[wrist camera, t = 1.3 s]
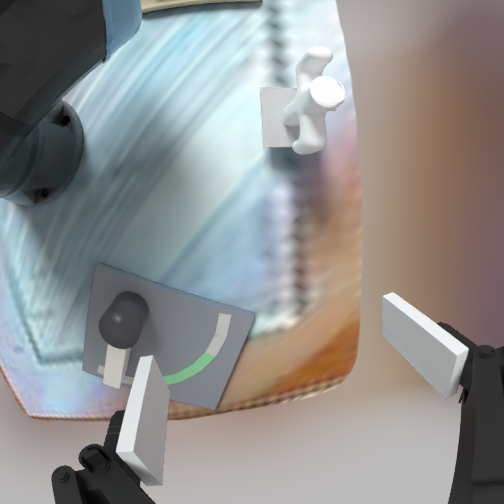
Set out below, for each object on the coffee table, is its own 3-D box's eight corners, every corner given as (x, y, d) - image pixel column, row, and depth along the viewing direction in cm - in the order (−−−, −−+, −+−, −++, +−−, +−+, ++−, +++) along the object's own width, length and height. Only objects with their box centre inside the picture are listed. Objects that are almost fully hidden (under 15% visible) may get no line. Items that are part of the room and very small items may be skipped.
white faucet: (258, 158, 35) (289, 147, 21) (254, 87, 33) (281, 37, 19) (314, 158, 36) (373, 150, 22) (309, 89, 34) (362, 48, 19)
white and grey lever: (116, 286, 35) (101, 305, 29) (152, 298, 36) (142, 319, 30) (103, 367, 38) (91, 392, 32) (133, 378, 39) (125, 404, 33)
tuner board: (85, 365, 39) (82, 370, 37) (99, 262, 36) (95, 266, 34) (214, 403, 44) (214, 410, 42) (253, 312, 40) (254, 317, 39)
